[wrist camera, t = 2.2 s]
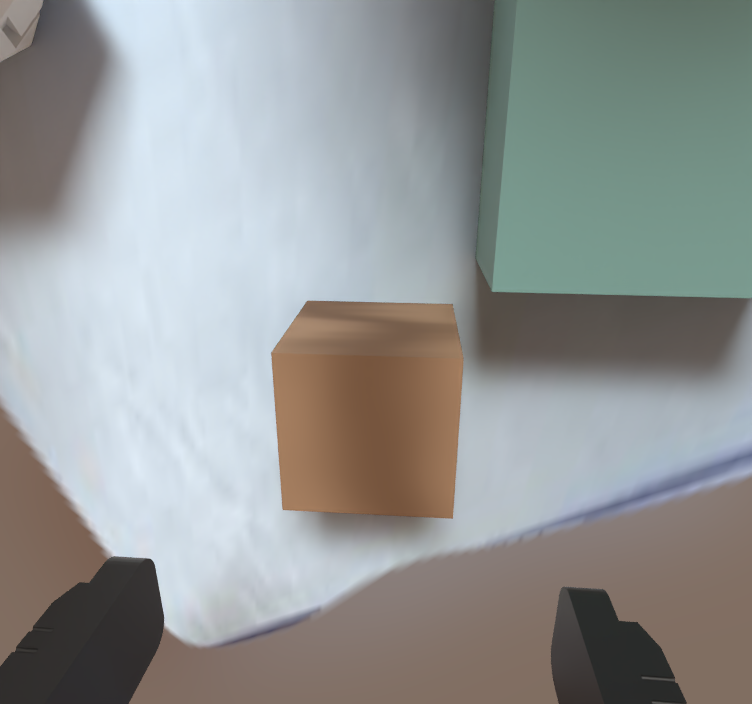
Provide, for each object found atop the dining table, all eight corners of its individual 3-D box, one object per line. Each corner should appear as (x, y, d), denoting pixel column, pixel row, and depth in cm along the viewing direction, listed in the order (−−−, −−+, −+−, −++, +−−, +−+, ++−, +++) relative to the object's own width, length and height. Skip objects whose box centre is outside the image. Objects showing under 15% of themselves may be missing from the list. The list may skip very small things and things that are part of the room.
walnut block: (313, 426, 23) (282, 509, 18) (307, 300, 21) (271, 353, 16) (444, 431, 22) (452, 518, 17) (452, 303, 20) (463, 358, 15)
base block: (474, 256, 20) (491, 291, 15) (498, -76, 16) (531, -165, 12) (759, 262, 19) (869, 301, 14) (851, -83, 16) (1036, -180, 11)
